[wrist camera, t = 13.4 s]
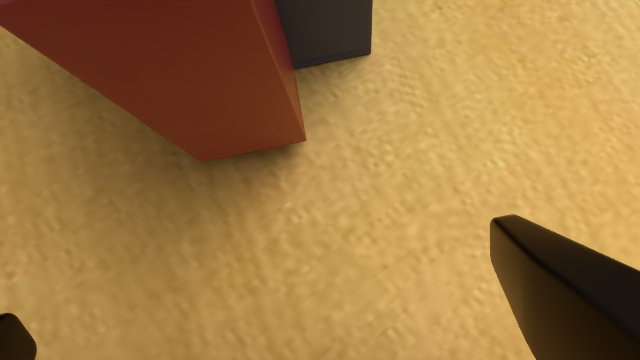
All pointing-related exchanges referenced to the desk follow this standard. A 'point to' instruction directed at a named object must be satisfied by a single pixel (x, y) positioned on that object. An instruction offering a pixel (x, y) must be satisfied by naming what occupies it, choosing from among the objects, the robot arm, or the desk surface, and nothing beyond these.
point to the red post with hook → (176, 65)
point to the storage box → (325, 29)
